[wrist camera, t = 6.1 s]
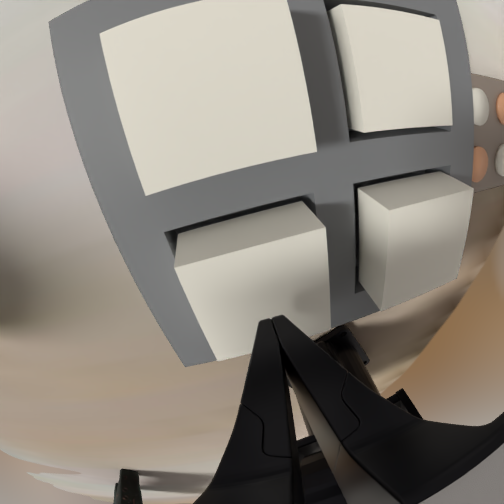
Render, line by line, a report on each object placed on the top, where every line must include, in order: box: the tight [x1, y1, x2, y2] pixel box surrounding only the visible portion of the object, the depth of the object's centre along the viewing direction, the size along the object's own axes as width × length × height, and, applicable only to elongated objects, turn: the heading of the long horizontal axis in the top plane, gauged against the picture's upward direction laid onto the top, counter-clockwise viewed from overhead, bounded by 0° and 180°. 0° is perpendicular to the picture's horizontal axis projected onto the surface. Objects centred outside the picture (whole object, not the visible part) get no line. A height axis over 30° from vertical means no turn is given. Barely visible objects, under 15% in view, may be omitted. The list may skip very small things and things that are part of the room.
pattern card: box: [471, 73, 504, 193], centre depth 13 cm, size 8×8×1 cm
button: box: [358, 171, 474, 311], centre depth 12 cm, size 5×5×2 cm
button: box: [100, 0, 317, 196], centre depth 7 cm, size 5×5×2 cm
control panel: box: [49, 0, 474, 367], centre depth 11 cm, size 17×17×3 cm
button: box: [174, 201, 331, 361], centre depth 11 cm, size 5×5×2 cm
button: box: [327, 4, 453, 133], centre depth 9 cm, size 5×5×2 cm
